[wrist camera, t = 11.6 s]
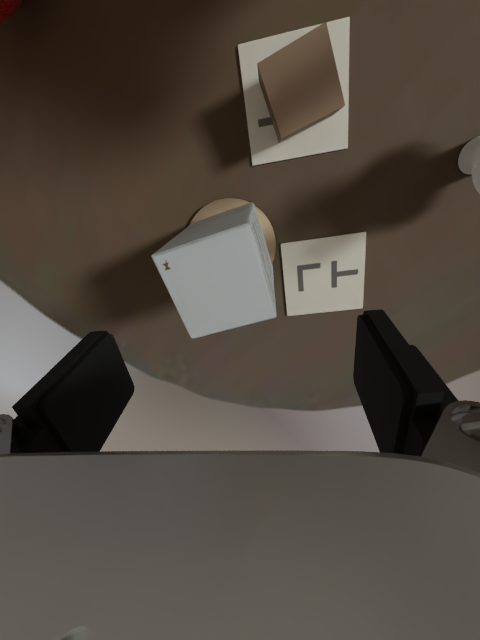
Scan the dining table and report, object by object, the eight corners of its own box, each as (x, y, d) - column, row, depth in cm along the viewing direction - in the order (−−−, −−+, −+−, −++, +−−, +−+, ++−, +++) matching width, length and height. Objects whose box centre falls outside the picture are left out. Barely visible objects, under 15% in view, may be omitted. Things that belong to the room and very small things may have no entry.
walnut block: (258, 81, 25) (257, 63, 20) (314, 49, 23) (326, 21, 19) (279, 143, 27) (281, 138, 22) (331, 116, 25) (345, 105, 21)
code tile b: (237, 45, 24) (237, 44, 24) (349, 17, 22) (349, 16, 22) (252, 165, 28) (252, 165, 28) (347, 148, 27) (347, 148, 26)
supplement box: (213, 284, 34) (188, 341, 22) (190, 222, 30) (146, 253, 19) (274, 267, 32) (278, 320, 21) (255, 199, 29) (249, 220, 18)
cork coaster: (177, 206, 30) (175, 206, 30) (270, 190, 29) (270, 190, 28) (198, 291, 35) (197, 293, 34) (279, 282, 33) (279, 283, 33)
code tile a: (280, 243, 31) (280, 244, 31) (365, 231, 30) (366, 232, 30) (287, 315, 35) (287, 316, 35) (362, 307, 34) (362, 308, 34)
